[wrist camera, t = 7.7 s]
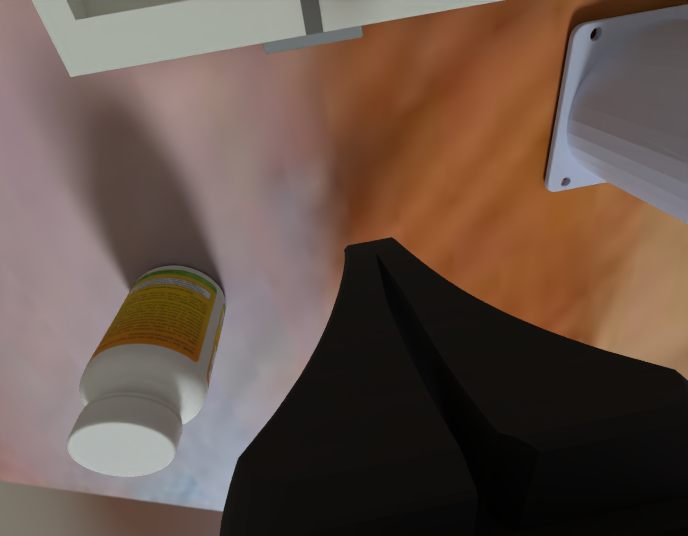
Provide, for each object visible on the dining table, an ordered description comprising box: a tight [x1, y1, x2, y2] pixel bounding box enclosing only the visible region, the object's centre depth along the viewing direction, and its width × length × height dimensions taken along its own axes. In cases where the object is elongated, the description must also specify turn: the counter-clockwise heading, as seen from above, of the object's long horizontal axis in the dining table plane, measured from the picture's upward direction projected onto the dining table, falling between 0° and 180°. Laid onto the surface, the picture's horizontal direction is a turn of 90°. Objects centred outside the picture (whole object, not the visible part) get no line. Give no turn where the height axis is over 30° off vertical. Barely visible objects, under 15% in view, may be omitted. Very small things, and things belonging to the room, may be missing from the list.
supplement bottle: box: [67, 265, 226, 476], centre depth 19 cm, size 5×5×10 cm
